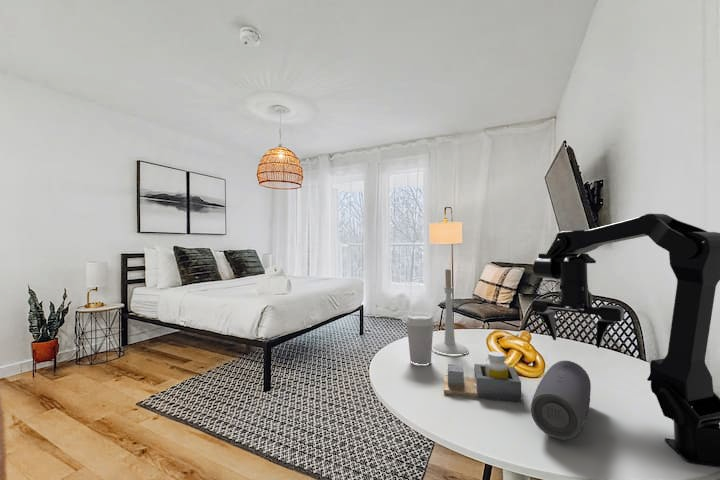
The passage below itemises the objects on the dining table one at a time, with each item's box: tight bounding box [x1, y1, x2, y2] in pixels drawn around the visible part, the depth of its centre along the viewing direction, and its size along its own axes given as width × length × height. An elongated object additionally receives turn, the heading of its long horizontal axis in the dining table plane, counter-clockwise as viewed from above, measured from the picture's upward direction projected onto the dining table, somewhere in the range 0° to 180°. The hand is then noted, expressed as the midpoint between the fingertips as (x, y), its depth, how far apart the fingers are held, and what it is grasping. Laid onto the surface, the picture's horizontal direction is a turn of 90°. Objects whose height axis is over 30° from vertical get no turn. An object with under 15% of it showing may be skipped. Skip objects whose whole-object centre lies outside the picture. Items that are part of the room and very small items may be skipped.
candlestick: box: [432, 268, 469, 354], centre depth 116 cm, size 13×13×30 cm
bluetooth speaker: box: [530, 360, 592, 441], centre depth 69 cm, size 23×9×10 cm, turn 141°
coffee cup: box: [404, 313, 436, 364], centre depth 104 cm, size 10×10×15 cm
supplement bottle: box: [485, 351, 509, 379], centre depth 82 cm, size 5×5×10 cm
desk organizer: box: [443, 363, 523, 404], centre depth 83 cm, size 10×18×5 cm, turn 73°
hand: (575, 343), depth 79 cm, fingers open, 9 cm apart
